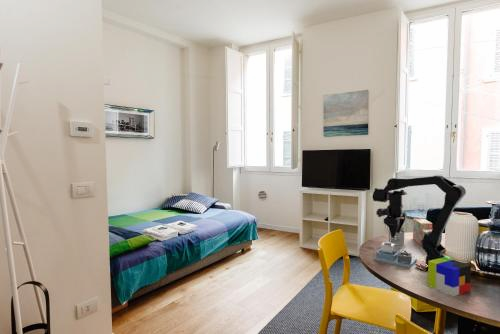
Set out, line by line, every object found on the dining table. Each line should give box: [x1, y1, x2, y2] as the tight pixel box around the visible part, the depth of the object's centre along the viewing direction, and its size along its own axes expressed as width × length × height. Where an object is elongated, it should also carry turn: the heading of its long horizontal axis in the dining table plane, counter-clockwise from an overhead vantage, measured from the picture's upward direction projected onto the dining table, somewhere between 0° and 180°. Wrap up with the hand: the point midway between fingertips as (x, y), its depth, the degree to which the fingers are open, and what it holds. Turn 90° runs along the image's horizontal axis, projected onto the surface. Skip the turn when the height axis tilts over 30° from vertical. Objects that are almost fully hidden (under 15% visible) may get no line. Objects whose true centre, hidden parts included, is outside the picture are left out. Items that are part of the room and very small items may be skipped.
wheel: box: [398, 251, 413, 262], centre depth 145 cm, size 6×6×2 cm
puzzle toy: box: [427, 256, 472, 297], centre depth 120 cm, size 10×10×10 cm
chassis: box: [374, 248, 418, 269], centre depth 150 cm, size 16×11×4 cm
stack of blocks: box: [412, 218, 434, 246], centre depth 173 cm, size 21×6×12 cm, turn 170°
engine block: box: [380, 241, 396, 255], centre depth 152 cm, size 5×4×7 cm
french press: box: [384, 220, 407, 249], centre depth 172 cm, size 10×12×25 cm
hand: (395, 235), depth 152 cm, fingers open, 9 cm apart
